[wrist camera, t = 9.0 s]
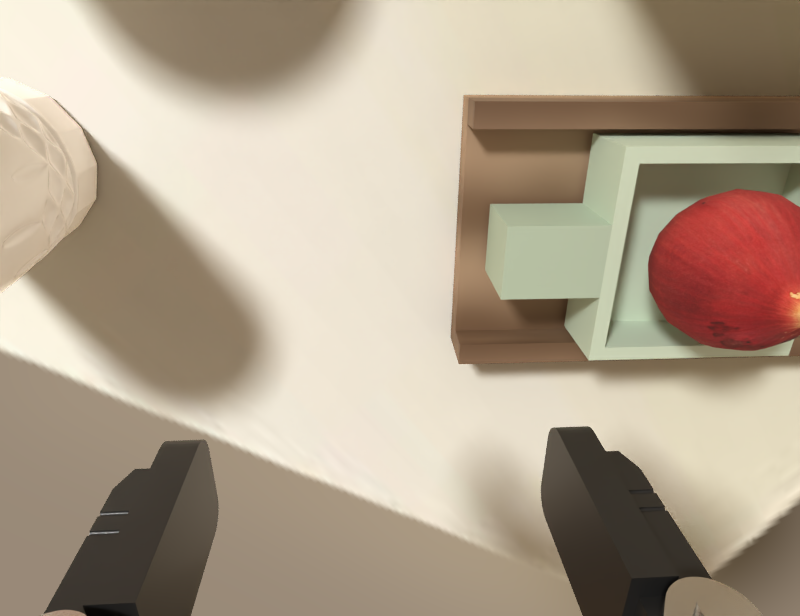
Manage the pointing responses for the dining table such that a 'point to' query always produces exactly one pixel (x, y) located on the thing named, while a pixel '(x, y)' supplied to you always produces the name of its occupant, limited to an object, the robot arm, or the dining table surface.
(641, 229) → the sled
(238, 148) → the dining table surface
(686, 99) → the rail
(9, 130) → the white cup
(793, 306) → the onion
